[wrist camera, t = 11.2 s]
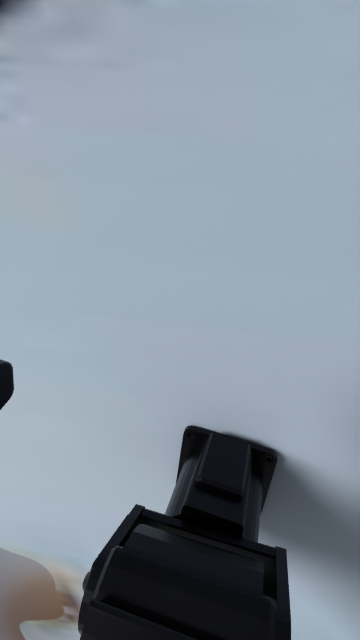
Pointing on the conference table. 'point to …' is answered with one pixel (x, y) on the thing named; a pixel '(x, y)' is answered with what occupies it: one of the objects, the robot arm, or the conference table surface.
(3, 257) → the conference table surface
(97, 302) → the conference table surface
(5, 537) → the conference table surface
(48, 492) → the conference table surface
